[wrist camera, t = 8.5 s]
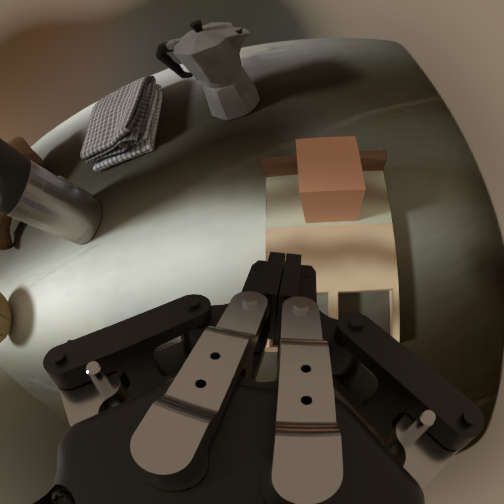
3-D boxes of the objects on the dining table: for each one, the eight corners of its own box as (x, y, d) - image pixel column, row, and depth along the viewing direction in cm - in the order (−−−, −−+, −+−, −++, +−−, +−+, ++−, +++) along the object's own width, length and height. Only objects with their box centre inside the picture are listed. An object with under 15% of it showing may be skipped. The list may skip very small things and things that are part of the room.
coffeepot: (276, 83, 41) (249, 0, 24) (266, 121, 39) (231, 28, 22) (198, 89, 45) (156, 22, 28) (182, 124, 44) (129, 55, 27)
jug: (49, 146, 59) (18, 236, 61) (-1, 126, 42) (-31, 223, 45) (57, 154, 48) (22, 266, 51) (-7, 129, 32) (-39, 253, 34)
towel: (167, 90, 49) (149, 66, 41) (154, 155, 44) (129, 131, 36) (113, 113, 52) (94, 94, 45) (95, 177, 47) (70, 159, 40)
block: (356, 220, 29) (365, 189, 22) (305, 223, 31) (299, 192, 23) (350, 175, 31) (355, 136, 23) (303, 177, 32) (295, 139, 25)
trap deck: (393, 345, 27) (407, 349, 22) (268, 349, 31) (258, 354, 26) (378, 173, 33) (385, 150, 27) (269, 179, 36) (260, 158, 31)
